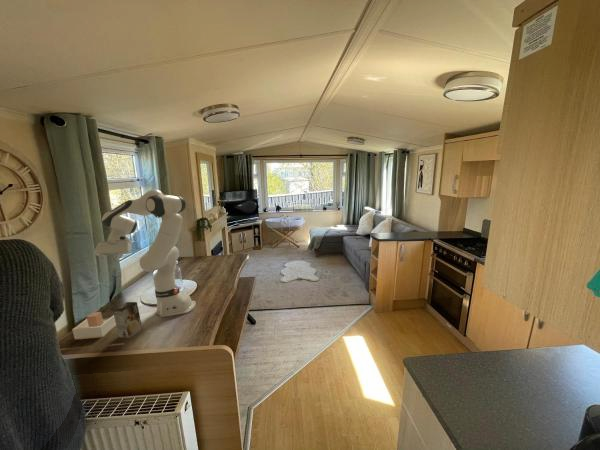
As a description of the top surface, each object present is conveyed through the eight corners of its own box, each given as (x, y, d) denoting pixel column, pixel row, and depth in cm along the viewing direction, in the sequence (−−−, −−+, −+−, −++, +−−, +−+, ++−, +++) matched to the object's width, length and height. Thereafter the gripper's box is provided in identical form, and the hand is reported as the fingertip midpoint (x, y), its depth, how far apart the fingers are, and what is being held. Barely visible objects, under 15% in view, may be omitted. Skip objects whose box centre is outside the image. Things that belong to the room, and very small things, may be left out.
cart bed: (118, 324, 150) (116, 313, 148) (103, 338, 137) (100, 326, 136) (92, 326, 149) (90, 316, 148) (75, 340, 136) (72, 329, 135)
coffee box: (132, 328, 145) (127, 301, 142) (142, 329, 143) (137, 301, 140) (118, 338, 136) (112, 309, 133) (128, 339, 134) (123, 310, 131)
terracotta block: (104, 326, 145) (101, 311, 143) (98, 331, 141) (95, 316, 139) (95, 327, 145) (92, 312, 143) (90, 332, 140) (86, 317, 139)
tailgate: (118, 322, 150) (123, 318, 154) (118, 321, 150) (123, 316, 154) (92, 325, 149) (98, 320, 154) (92, 323, 149) (98, 318, 153)
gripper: (95, 239, 163) (87, 259, 156) (129, 237, 165) (123, 256, 157) (102, 244, 169) (94, 264, 161) (134, 242, 170) (128, 261, 162)
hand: (109, 260), depth 159 cm, fingers open, 8 cm apart
